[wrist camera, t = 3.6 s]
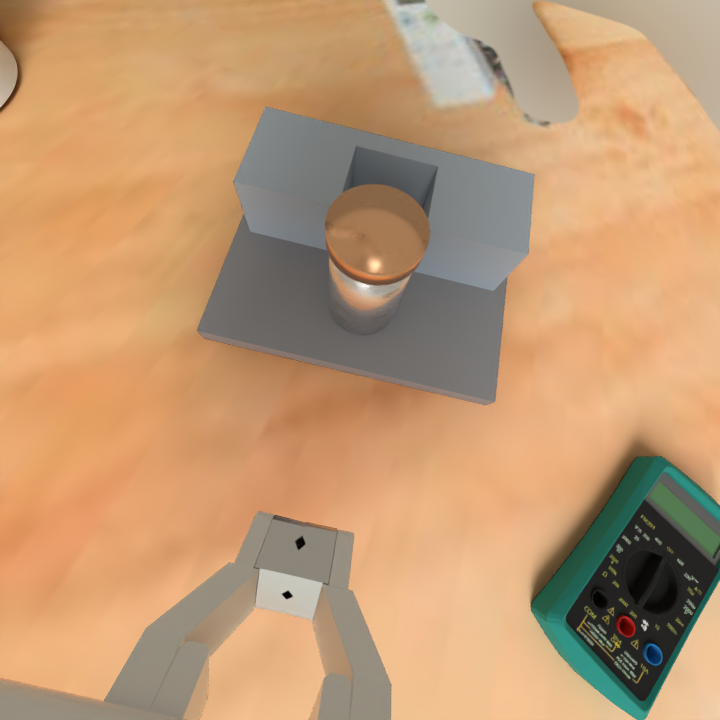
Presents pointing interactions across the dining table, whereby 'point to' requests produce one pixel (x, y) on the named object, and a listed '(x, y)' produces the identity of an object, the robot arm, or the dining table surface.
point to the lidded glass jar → (372, 254)
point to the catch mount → (311, 260)
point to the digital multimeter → (635, 584)
